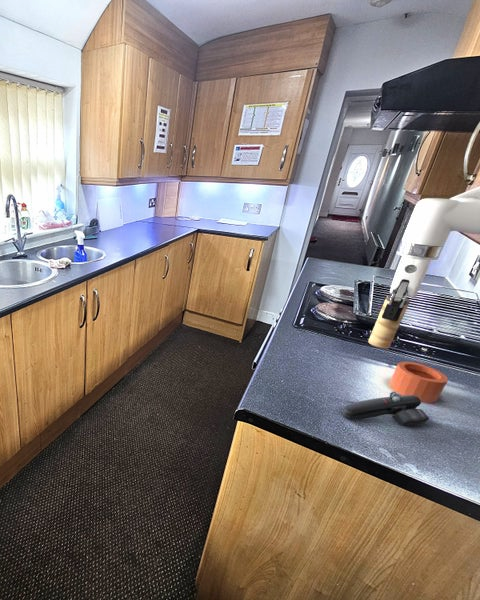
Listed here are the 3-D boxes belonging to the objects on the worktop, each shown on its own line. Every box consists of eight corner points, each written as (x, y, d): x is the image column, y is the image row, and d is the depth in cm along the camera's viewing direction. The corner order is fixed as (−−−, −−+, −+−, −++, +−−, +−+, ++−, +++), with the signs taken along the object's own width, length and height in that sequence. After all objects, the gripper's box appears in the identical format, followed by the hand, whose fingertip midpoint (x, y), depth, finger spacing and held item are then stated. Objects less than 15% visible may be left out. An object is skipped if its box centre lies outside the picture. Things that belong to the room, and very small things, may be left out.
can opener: (401, 405, 80) (411, 387, 77) (430, 427, 73) (441, 407, 71) (330, 407, 79) (337, 388, 77) (353, 429, 73) (361, 409, 71)
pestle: (384, 342, 92) (404, 296, 87) (392, 350, 88) (414, 302, 83) (365, 339, 94) (383, 293, 88) (372, 346, 90) (391, 299, 84)
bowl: (423, 387, 87) (434, 365, 84) (444, 409, 79) (457, 385, 77) (381, 380, 90) (391, 358, 87) (398, 400, 82) (409, 377, 80)
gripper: (439, 259, 73) (406, 331, 80) (441, 248, 84) (412, 312, 91) (394, 252, 78) (367, 320, 85) (402, 243, 89) (377, 304, 96)
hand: (390, 316), depth 88 cm, fingers closed on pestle, 4 cm apart
